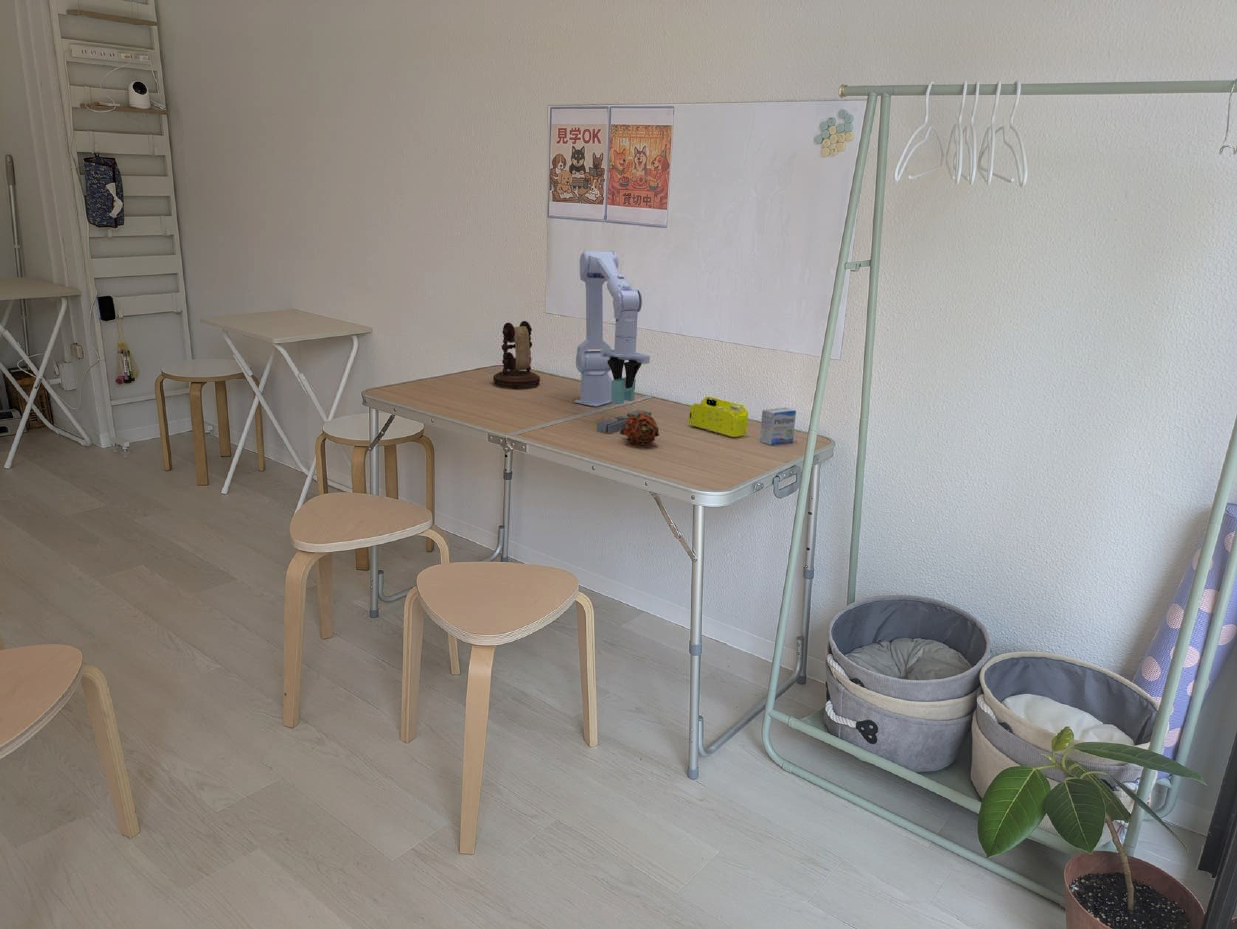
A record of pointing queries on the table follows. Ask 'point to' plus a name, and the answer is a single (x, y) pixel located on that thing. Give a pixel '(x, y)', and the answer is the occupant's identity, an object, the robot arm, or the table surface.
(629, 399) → the clip
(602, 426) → the rail
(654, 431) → the brown scaly rounded piece
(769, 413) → the medicine box
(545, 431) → the table surface
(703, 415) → the yellow toy chassis
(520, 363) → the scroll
